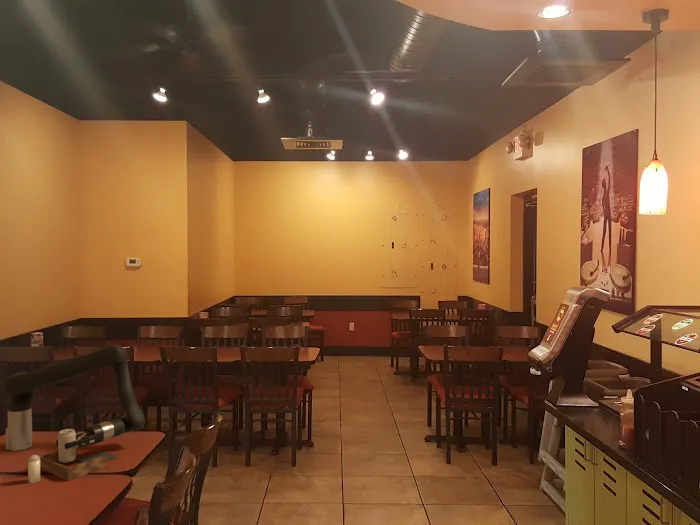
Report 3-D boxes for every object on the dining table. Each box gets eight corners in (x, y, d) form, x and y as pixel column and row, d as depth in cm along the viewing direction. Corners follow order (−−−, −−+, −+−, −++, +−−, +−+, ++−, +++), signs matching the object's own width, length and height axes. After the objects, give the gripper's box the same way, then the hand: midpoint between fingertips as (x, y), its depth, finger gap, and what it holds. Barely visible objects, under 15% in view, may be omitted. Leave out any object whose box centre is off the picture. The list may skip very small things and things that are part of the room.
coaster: (101, 451, 242) (101, 450, 242) (118, 457, 235) (118, 456, 235) (75, 460, 232) (75, 459, 232) (91, 466, 225) (91, 465, 225)
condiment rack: (75, 455, 238) (75, 445, 238) (107, 466, 225) (106, 455, 225) (37, 467, 224) (37, 456, 224) (68, 480, 212) (68, 469, 212)
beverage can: (69, 464, 219) (68, 434, 219) (54, 462, 220) (54, 433, 220) (79, 457, 225) (79, 428, 225) (65, 456, 227) (65, 427, 226)
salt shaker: (26, 483, 210) (26, 457, 209) (31, 478, 214) (30, 453, 213) (37, 482, 210) (37, 456, 210) (42, 478, 214) (41, 452, 214)
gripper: (89, 421, 239) (50, 432, 224) (109, 427, 231) (70, 439, 217) (90, 438, 239) (51, 450, 225) (110, 444, 231) (70, 458, 217)
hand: (60, 444), depth 221 cm, fingers closed on beverage can, 5 cm apart
